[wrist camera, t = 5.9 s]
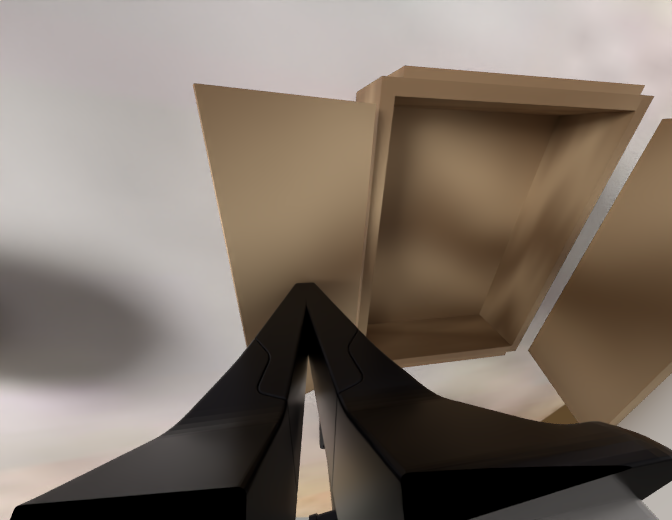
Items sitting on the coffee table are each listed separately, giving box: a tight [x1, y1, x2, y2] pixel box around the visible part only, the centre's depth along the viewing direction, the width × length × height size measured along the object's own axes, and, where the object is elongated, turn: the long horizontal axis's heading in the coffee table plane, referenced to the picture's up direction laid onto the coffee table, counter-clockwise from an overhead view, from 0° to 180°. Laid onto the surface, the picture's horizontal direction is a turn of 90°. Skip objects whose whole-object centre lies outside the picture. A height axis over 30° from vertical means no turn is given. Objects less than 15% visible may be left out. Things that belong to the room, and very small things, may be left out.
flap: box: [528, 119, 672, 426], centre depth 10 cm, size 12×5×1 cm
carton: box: [356, 66, 654, 368], centre depth 13 cm, size 15×11×4 cm
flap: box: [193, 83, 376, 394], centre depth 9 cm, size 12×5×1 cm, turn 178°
